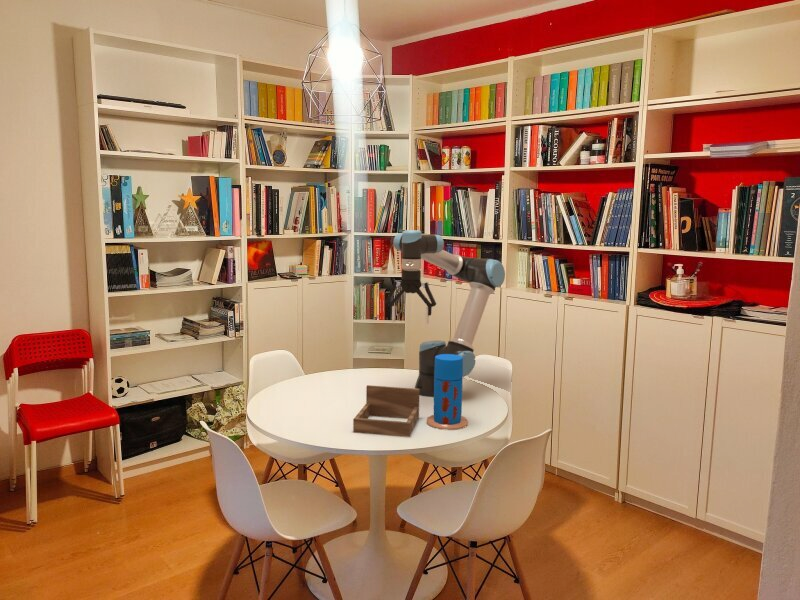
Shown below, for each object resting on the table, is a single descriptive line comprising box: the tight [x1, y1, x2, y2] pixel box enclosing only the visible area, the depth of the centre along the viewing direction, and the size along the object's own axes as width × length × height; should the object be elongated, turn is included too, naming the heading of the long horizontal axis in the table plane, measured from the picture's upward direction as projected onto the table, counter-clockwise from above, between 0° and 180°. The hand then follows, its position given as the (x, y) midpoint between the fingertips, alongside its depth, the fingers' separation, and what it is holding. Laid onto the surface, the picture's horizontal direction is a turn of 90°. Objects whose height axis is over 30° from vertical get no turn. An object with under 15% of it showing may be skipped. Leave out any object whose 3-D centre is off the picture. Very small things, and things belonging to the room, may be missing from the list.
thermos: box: [433, 354, 464, 425], centre depth 247 cm, size 11×11×25 cm
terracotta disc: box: [426, 414, 469, 430], centre depth 248 cm, size 16×16×1 cm
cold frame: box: [352, 384, 420, 438], centre depth 244 cm, size 21×21×12 cm
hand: (410, 322), depth 256 cm, fingers open, 13 cm apart
